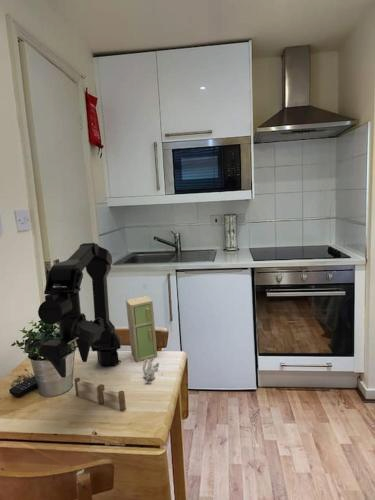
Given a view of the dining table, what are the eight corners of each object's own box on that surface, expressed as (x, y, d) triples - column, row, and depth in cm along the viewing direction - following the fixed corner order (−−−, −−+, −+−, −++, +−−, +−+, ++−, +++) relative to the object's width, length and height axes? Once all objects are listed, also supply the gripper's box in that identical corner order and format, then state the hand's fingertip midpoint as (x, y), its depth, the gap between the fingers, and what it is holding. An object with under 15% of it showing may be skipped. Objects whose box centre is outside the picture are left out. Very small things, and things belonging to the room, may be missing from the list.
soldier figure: (166, 369, 118) (165, 377, 106) (156, 380, 117) (155, 390, 105) (148, 353, 118) (146, 359, 106) (138, 365, 117) (135, 372, 105)
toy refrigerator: (136, 363, 120) (130, 305, 116) (130, 354, 127) (125, 299, 123) (158, 357, 123) (153, 301, 119) (151, 349, 130) (147, 295, 126)
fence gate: (75, 395, 102) (73, 379, 101) (79, 392, 104) (77, 377, 103) (97, 403, 98) (95, 386, 97) (101, 399, 99) (99, 383, 98)
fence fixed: (98, 406, 98) (96, 387, 97) (102, 402, 100) (100, 383, 98) (123, 414, 94) (121, 395, 93) (127, 410, 95) (125, 391, 94)
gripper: (73, 325, 80) (79, 390, 81) (114, 303, 97) (118, 357, 99) (33, 322, 83) (40, 385, 85) (80, 302, 101) (85, 354, 103)
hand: (74, 369), depth 93 cm, fingers open, 9 cm apart
